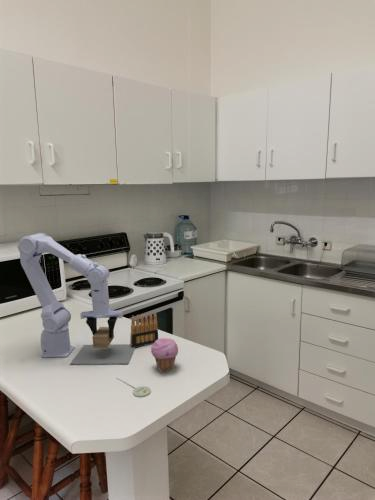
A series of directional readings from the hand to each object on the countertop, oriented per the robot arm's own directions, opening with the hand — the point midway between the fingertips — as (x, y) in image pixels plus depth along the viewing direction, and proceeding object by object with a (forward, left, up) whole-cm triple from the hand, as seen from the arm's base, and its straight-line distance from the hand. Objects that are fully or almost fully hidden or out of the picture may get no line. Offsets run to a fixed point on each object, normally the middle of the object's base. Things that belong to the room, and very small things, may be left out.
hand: (103, 337), depth 133 cm
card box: (0, 0, -2) cm, 2 cm away
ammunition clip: (+13, +8, -7) cm, 17 cm away
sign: (+14, -21, -7) cm, 26 cm away
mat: (0, 0, -7) cm, 7 cm away
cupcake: (+23, -10, -7) cm, 26 cm away
